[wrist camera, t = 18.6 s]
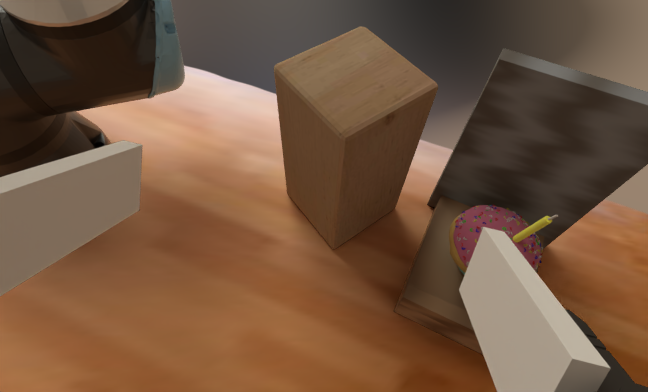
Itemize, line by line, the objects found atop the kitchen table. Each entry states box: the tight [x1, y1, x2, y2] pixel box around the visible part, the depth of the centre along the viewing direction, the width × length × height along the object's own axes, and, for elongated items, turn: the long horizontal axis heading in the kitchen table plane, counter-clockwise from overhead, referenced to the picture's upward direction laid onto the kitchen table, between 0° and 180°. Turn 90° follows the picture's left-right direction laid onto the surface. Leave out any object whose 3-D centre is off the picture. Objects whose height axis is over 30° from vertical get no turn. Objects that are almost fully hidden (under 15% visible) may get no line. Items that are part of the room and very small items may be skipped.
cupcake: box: [449, 205, 558, 275], centre depth 36 cm, size 9×8×12 cm
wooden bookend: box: [394, 48, 648, 355], centre depth 34 cm, size 14×16×22 cm
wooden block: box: [274, 27, 438, 249], centre depth 40 cm, size 10×10×20 cm
